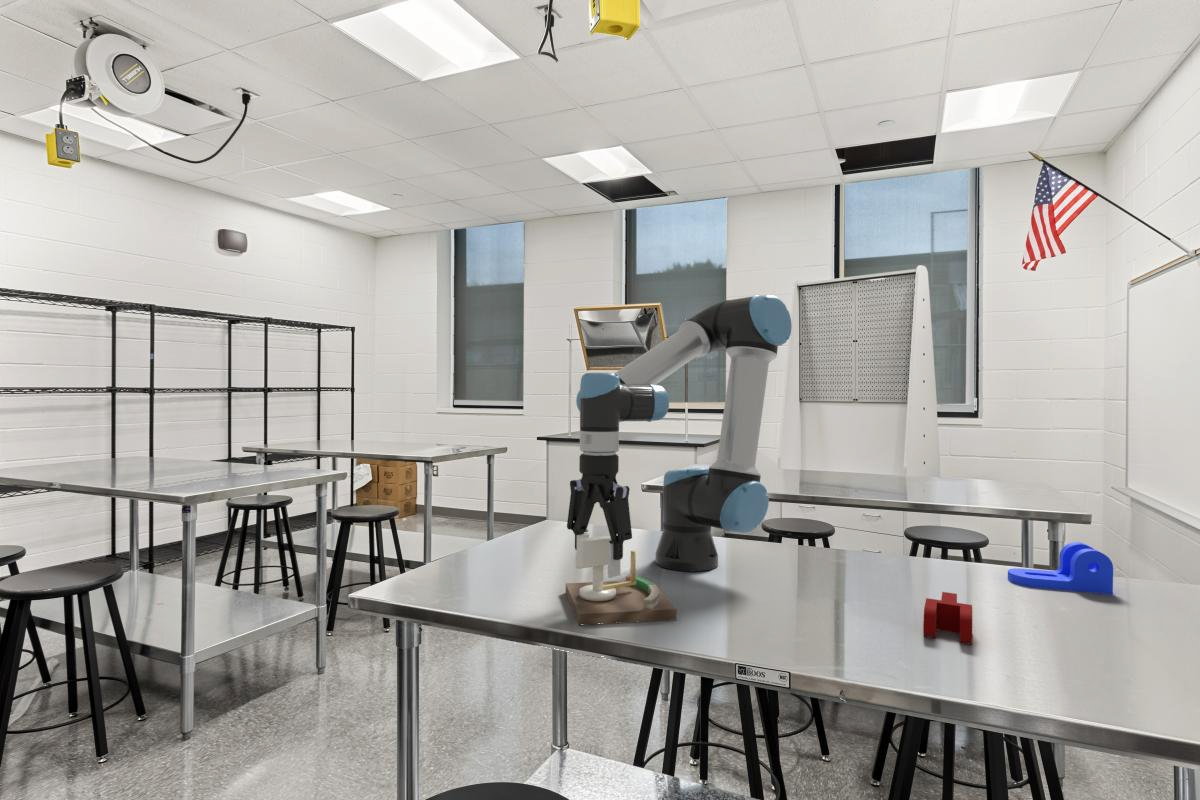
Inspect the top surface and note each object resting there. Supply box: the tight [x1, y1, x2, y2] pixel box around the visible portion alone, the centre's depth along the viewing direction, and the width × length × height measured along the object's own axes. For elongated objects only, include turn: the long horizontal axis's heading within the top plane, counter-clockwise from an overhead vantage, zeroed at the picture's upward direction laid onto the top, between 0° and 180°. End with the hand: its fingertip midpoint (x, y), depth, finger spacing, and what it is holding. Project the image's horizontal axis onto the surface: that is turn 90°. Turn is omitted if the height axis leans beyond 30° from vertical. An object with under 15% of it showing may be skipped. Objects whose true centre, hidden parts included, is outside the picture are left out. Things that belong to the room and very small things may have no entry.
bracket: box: [1007, 541, 1114, 595], centre depth 140 cm, size 18×8×9 cm, turn 72°
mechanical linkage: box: [922, 591, 973, 646], centre depth 113 cm, size 16×7×5 cm, turn 150°
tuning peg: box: [576, 534, 637, 601], centre depth 123 cm, size 7×12×11 cm, turn 119°
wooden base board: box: [565, 574, 678, 626], centre depth 123 cm, size 18×18×4 cm
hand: (597, 571), depth 122 cm, fingers open, 8 cm apart
